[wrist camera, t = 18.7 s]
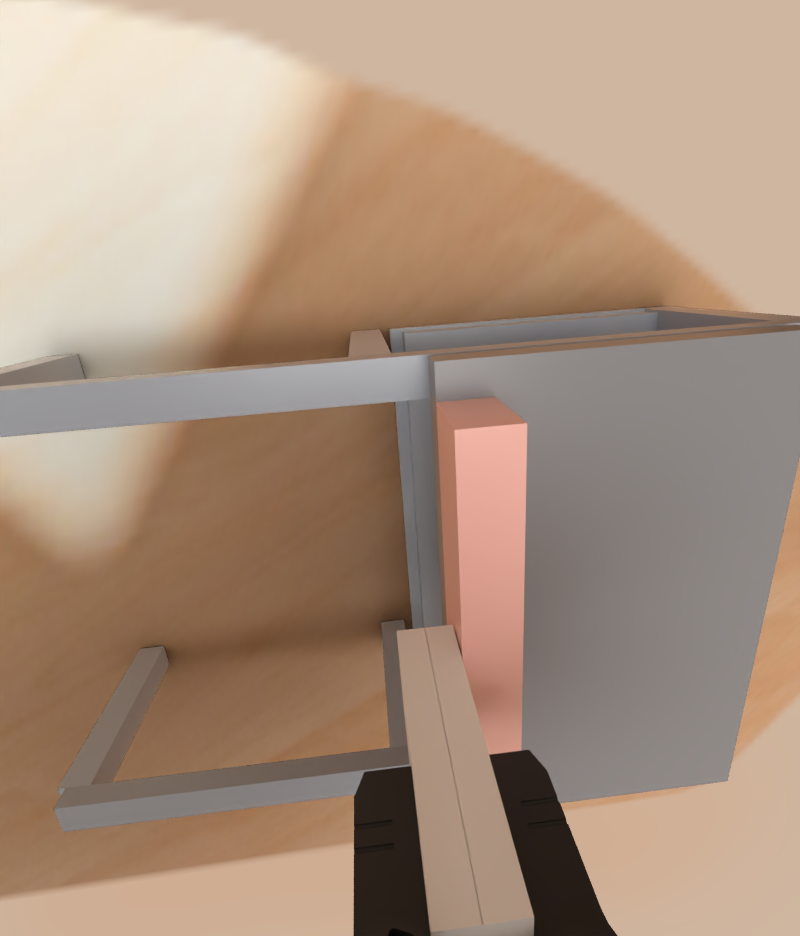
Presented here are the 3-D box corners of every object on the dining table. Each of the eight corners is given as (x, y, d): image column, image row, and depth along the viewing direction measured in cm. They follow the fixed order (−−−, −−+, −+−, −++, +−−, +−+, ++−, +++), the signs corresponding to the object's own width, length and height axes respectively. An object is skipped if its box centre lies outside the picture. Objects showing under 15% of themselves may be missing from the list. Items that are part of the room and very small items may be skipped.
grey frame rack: (146, 667, 26) (55, 833, 18) (47, 356, 20) (-146, 402, 13) (631, 612, 27) (740, 745, 20) (664, 305, 22) (838, 319, 14)
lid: (450, 789, 19) (470, 897, 15) (428, 355, 13) (452, 380, 10) (709, 756, 19) (781, 854, 16) (795, 324, 14) (935, 338, 10)
